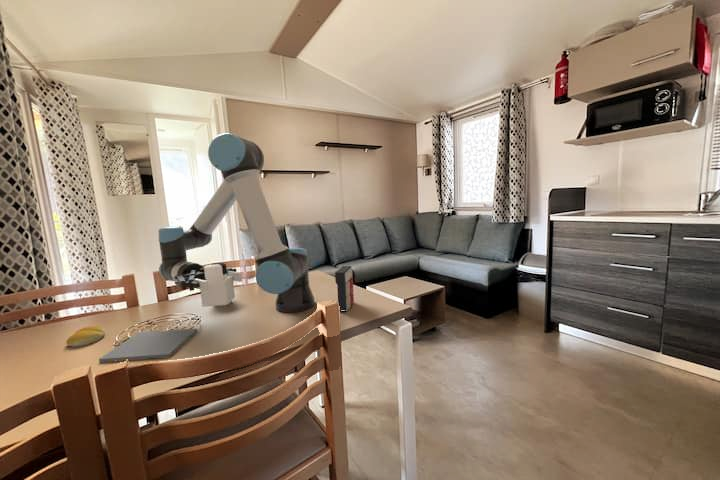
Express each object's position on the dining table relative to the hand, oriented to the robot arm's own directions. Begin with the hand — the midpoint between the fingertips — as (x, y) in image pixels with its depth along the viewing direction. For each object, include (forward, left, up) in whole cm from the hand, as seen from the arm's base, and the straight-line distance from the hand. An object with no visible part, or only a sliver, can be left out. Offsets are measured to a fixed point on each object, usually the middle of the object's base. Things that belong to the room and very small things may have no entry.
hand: (224, 281), depth 86 cm
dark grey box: (-36, -22, -18) cm, 46 cm away
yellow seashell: (+47, -7, -19) cm, 51 cm away
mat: (+22, 0, -18) cm, 29 cm away
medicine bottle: (+3, -3, -7) cm, 8 cm away
